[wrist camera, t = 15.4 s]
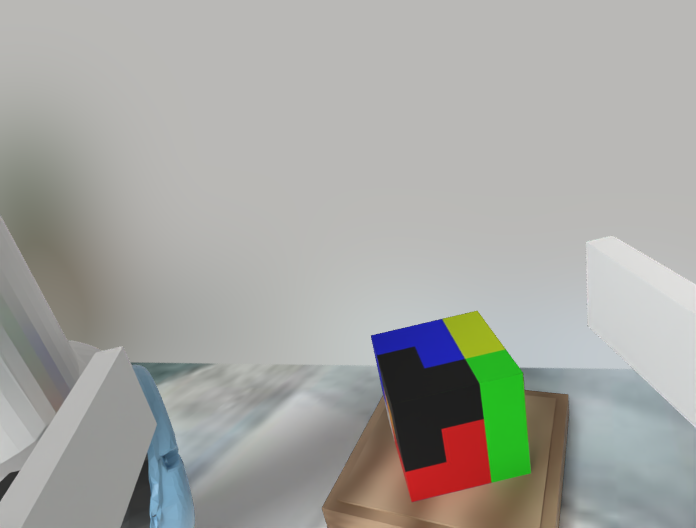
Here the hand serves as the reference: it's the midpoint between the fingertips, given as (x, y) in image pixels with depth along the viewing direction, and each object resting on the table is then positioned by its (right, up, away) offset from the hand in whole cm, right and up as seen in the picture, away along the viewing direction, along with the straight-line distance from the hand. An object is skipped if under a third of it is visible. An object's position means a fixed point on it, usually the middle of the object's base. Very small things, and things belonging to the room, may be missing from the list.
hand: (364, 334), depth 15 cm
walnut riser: (+10, -17, +33) cm, 38 cm away
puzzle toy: (+9, -14, +32) cm, 37 cm away
